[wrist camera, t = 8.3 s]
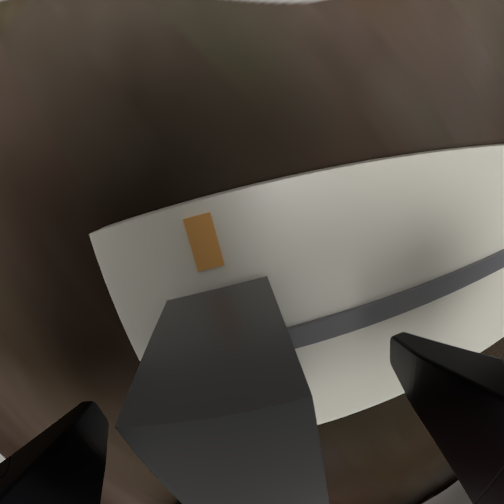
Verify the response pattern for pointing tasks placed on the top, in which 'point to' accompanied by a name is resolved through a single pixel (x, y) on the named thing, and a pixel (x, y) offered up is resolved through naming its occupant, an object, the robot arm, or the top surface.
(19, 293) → the top surface
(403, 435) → the top surface
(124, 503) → the top surface
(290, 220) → the fader panel
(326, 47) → the top surface
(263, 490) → the fader knob
